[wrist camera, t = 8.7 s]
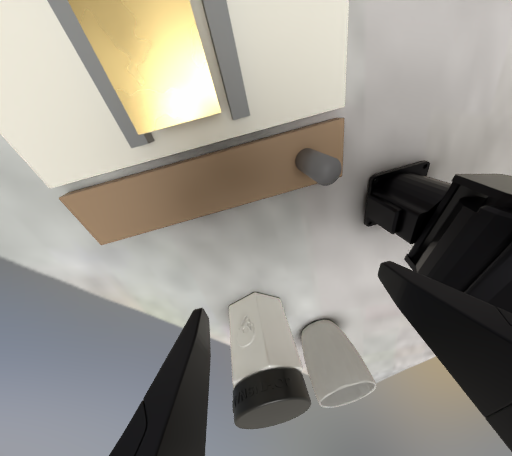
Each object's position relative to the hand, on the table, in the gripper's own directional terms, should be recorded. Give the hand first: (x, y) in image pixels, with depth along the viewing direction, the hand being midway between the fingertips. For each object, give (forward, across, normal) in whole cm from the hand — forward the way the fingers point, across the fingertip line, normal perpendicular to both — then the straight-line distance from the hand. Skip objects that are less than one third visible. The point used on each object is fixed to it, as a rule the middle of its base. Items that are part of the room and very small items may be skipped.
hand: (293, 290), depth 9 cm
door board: (+12, +4, -8) cm, 15 cm away
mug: (+12, -8, +31) cm, 34 cm away
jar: (+12, +4, +18) cm, 22 cm away
